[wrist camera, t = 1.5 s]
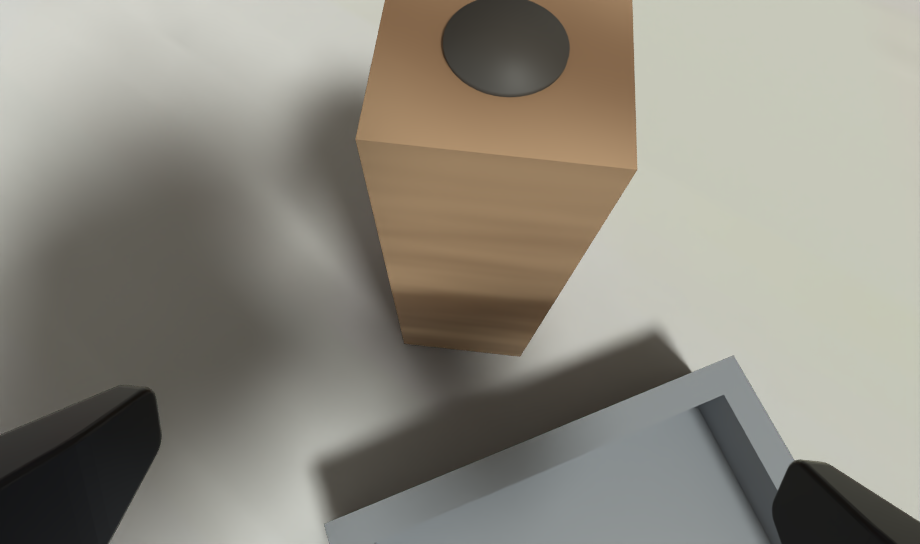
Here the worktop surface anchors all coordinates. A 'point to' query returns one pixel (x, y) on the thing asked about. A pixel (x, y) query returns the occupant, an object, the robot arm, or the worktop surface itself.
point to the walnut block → (494, 157)
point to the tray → (608, 478)
